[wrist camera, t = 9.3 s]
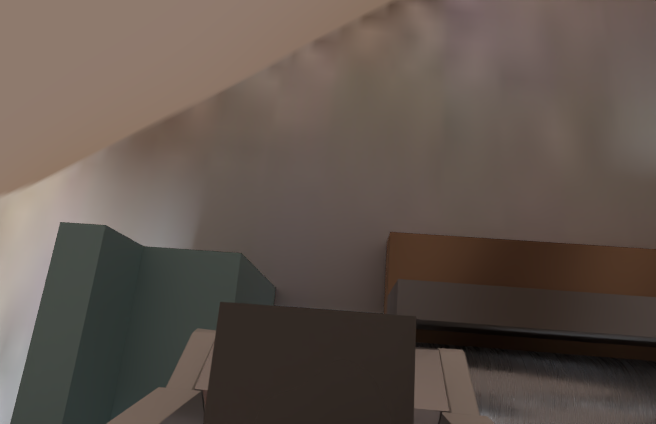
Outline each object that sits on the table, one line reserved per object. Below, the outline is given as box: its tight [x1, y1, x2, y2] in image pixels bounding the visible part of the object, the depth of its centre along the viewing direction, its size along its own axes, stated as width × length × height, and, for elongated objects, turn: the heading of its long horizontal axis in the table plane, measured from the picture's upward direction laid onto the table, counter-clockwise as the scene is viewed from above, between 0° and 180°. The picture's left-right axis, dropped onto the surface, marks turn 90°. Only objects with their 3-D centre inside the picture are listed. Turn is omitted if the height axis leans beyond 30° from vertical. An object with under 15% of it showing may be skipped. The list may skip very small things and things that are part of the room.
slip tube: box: [203, 302, 656, 424], centre depth 10 cm, size 16×3×9 cm, turn 86°
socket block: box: [10, 222, 276, 424], centre depth 13 cm, size 4×6×8 cm, turn 175°
